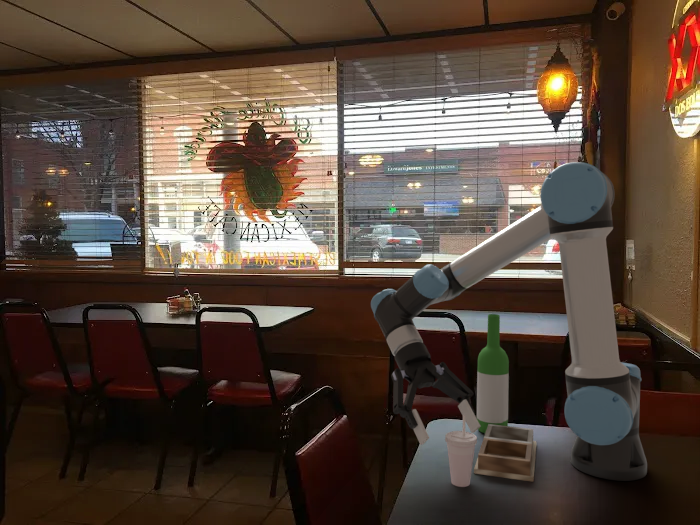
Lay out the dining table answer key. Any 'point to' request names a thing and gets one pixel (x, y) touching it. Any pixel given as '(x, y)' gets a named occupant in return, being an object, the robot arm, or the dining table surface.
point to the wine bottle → (492, 379)
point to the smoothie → (461, 455)
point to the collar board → (507, 453)
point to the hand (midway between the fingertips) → (451, 435)
